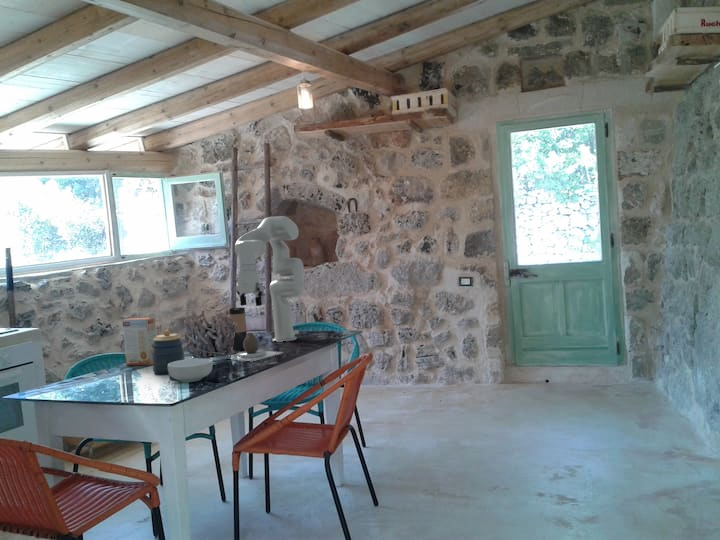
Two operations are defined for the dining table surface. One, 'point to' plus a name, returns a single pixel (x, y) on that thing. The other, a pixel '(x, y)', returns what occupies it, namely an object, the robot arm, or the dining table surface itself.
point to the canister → (166, 351)
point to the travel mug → (239, 327)
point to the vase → (250, 343)
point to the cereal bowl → (190, 369)
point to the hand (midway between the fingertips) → (251, 305)
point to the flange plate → (253, 355)
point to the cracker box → (139, 340)
